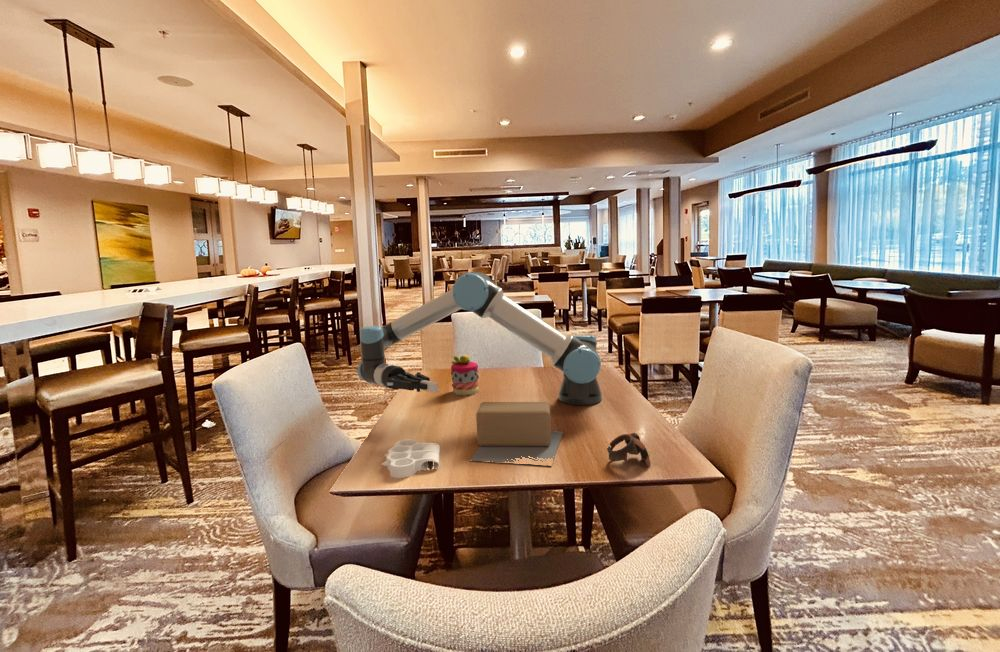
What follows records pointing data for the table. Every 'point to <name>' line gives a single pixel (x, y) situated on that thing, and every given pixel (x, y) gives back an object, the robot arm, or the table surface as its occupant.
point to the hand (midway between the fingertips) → (436, 388)
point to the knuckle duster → (411, 457)
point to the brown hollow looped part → (628, 448)
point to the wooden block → (513, 424)
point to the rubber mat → (518, 451)
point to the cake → (464, 376)
